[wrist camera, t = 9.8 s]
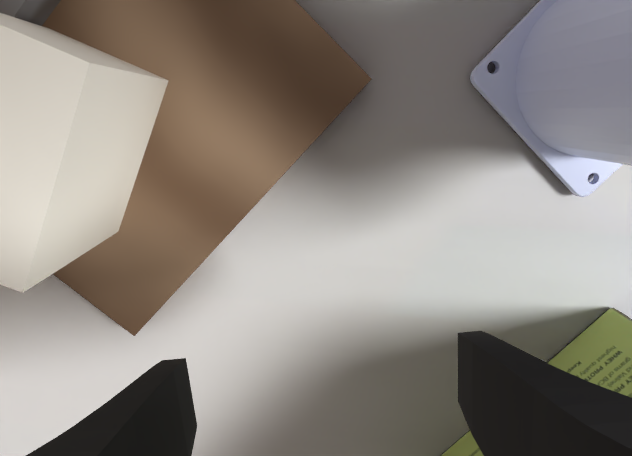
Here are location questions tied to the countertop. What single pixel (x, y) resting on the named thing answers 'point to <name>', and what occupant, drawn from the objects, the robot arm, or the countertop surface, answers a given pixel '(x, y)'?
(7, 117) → the carton
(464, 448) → the protein box
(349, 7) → the countertop surface
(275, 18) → the shelf
